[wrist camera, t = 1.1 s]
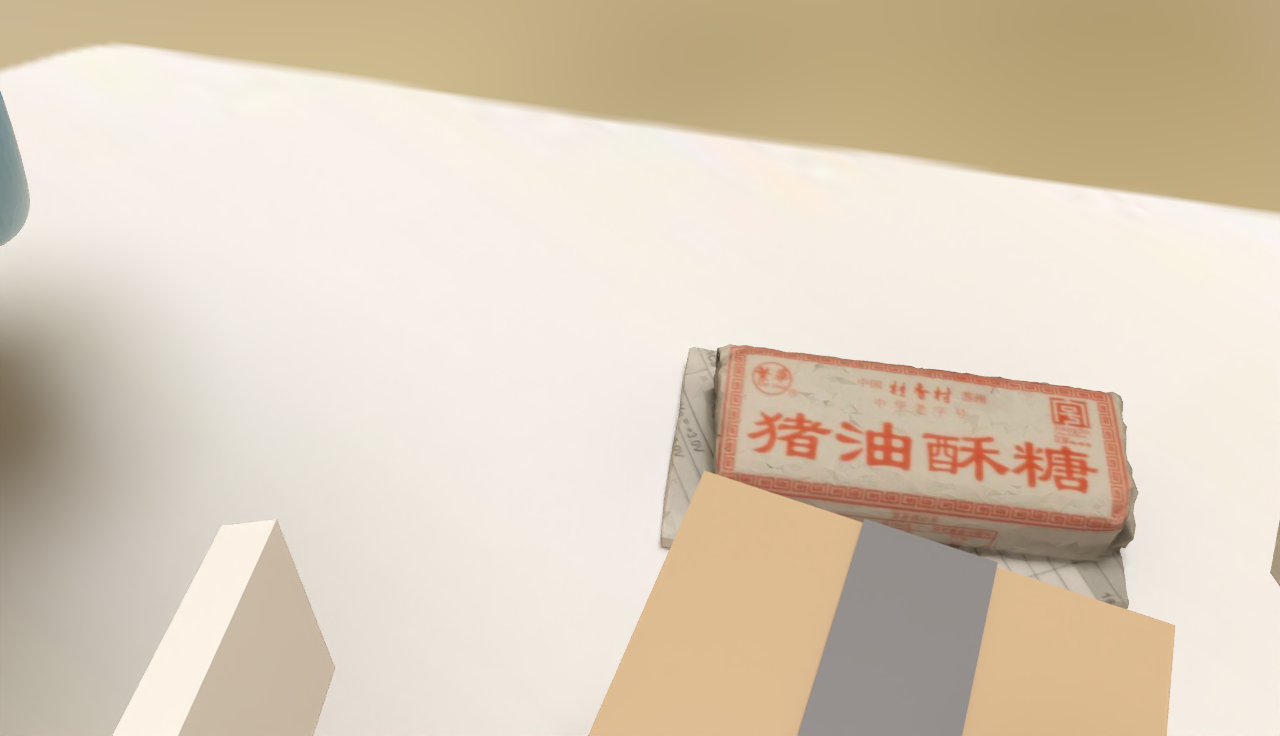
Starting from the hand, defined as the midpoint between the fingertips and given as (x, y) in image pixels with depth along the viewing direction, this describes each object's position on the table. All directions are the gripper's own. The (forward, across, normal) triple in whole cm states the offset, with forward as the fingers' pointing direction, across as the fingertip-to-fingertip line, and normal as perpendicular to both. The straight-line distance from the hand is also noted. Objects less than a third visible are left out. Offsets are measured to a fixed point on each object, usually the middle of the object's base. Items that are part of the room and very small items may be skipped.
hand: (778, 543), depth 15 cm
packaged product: (+26, +5, -20) cm, 34 cm away
